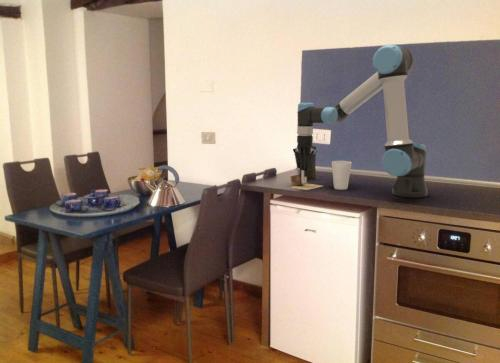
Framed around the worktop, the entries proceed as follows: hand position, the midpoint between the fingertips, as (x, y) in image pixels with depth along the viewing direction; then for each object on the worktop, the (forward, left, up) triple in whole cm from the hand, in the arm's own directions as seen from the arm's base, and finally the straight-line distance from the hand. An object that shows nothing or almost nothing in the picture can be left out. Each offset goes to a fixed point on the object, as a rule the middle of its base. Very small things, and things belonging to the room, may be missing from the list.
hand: (303, 183), depth 228 cm
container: (+10, -16, -2) cm, 19 cm away
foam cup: (-16, -8, -2) cm, 18 cm away
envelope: (-2, 0, -2) cm, 3 cm away
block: (+3, 0, -1) cm, 3 cm away
